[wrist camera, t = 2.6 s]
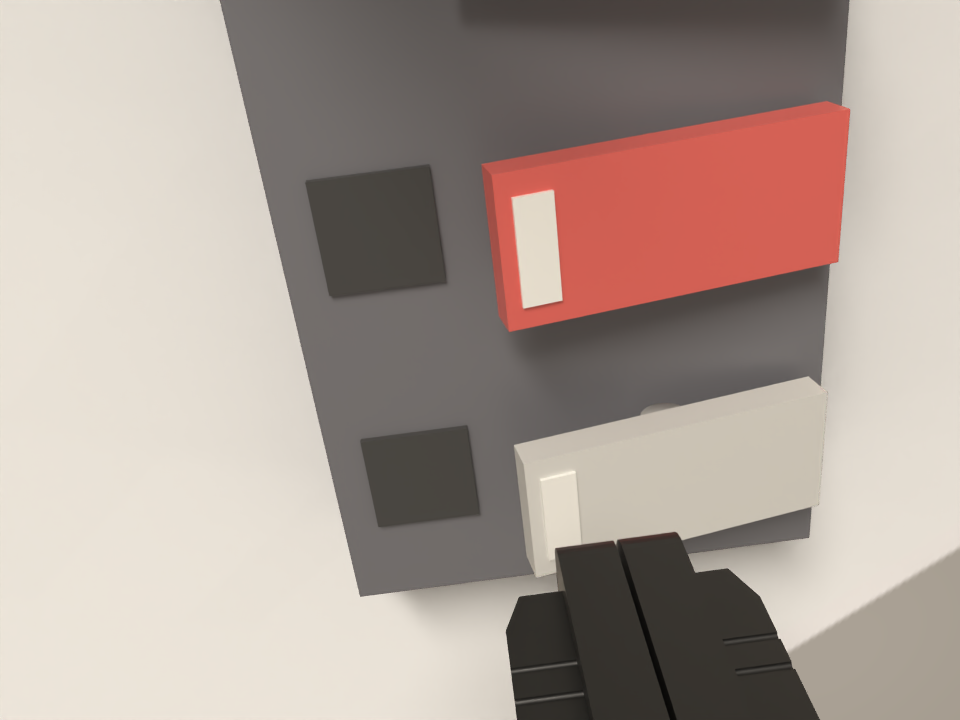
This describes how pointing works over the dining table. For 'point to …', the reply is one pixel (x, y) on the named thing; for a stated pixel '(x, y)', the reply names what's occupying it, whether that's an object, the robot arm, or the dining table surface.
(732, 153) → the block
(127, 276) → the dining table surface
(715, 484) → the grey rocker far end
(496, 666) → the dining table surface
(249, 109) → the power strip
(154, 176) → the dining table surface
